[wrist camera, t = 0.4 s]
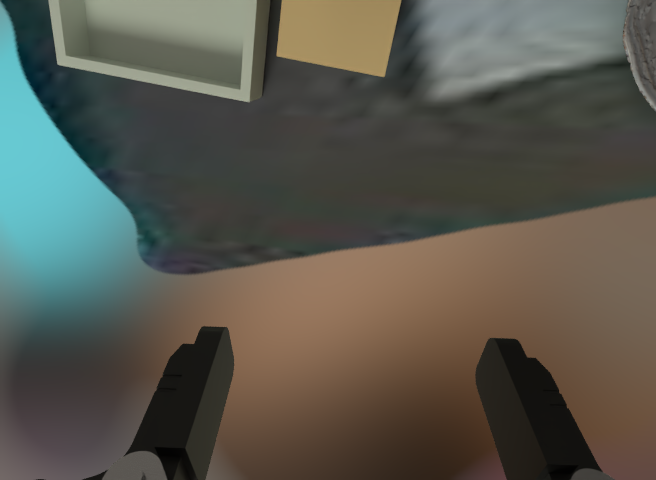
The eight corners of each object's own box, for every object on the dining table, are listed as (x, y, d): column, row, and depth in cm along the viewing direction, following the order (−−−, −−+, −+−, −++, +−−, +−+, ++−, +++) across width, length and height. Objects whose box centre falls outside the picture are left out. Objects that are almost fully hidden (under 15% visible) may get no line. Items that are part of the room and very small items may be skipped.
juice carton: (326, -23, 30) (290, -83, 16) (394, -9, 30) (414, -59, 16) (315, 54, 32) (276, 56, 19) (378, 66, 32) (384, 77, 19)
